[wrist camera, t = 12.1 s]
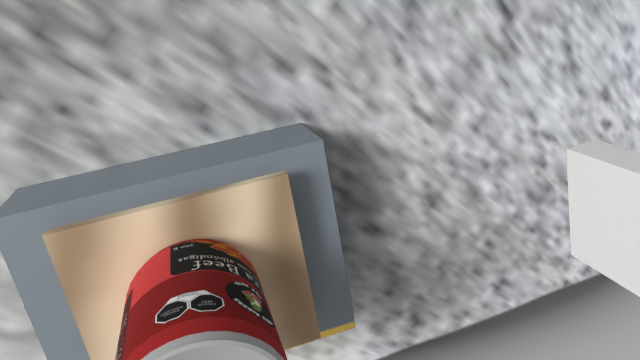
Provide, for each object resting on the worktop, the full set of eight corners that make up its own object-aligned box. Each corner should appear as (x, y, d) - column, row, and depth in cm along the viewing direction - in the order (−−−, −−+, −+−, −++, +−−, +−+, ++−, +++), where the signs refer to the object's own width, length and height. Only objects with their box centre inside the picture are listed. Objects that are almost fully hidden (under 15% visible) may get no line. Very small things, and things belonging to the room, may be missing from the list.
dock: (301, 122, 38) (322, 139, 33) (332, 289, 43) (355, 328, 38) (17, 188, 34) (-13, 220, 29) (87, 363, 39) (73, 419, 34)
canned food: (283, 279, 33) (332, 394, 23) (199, 369, 33) (211, 523, 23) (189, 208, 30) (199, 303, 20) (97, 307, 30) (60, 452, 20)
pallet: (281, 165, 33) (287, 174, 31) (313, 322, 37) (321, 338, 35) (50, 222, 30) (41, 235, 28) (112, 385, 34) (109, 406, 32)
